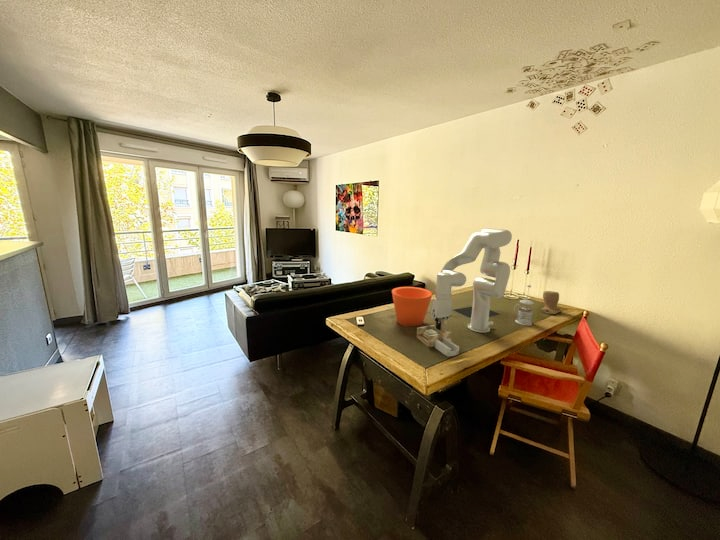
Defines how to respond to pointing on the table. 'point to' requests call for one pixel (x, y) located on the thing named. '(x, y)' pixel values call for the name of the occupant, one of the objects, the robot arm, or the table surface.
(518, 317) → the french press
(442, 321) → the wooden board
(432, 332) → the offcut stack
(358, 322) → the table surface
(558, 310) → the stone cup
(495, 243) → the robot arm
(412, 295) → the flowerpot
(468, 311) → the tablet
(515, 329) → the table surface
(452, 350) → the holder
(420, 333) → the rack
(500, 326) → the table surface
